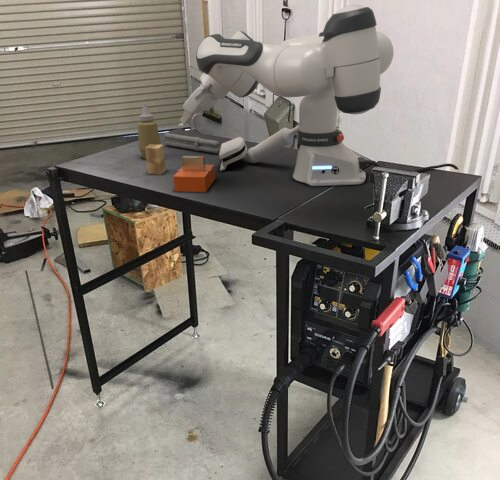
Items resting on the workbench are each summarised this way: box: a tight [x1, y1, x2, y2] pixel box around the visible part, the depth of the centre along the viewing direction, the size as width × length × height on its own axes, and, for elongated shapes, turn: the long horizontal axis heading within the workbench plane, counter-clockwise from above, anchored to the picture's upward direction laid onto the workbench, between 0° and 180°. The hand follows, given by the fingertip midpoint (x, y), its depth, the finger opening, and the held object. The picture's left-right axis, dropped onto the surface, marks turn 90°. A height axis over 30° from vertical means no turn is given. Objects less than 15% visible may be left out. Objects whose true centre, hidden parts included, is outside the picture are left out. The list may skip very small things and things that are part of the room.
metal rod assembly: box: [163, 132, 220, 155], centre depth 199 cm, size 26×3×5 cm, turn 54°
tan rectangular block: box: [181, 154, 206, 171], centre depth 161 cm, size 6×2×4 cm, turn 80°
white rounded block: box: [218, 136, 248, 172], centre depth 180 cm, size 17×5×10 cm
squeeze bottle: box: [137, 103, 162, 160], centre depth 188 cm, size 8×8×18 cm
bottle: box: [246, 124, 299, 164], centre depth 173 cm, size 5×5×25 cm
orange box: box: [172, 164, 216, 193], centre depth 163 cm, size 13×11×5 cm
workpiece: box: [145, 144, 167, 176], centre depth 174 cm, size 5×5×8 cm
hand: (187, 119), depth 164 cm, fingers open, 8 cm apart
